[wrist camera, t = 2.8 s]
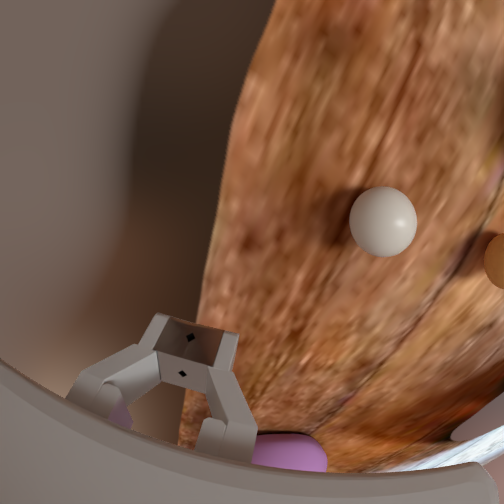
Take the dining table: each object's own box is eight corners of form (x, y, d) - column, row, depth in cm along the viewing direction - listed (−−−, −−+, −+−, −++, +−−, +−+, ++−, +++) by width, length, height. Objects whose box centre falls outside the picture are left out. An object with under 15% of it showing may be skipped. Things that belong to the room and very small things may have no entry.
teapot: (211, 429, 52) (193, 493, 39) (314, 423, 45) (307, 501, 32) (257, 464, 62) (247, 514, 49) (339, 459, 54) (336, 515, 42)
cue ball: (355, 169, 23) (368, 192, 18) (413, 187, 22) (437, 214, 18) (337, 228, 26) (344, 262, 21) (393, 242, 25) (408, 277, 21)
